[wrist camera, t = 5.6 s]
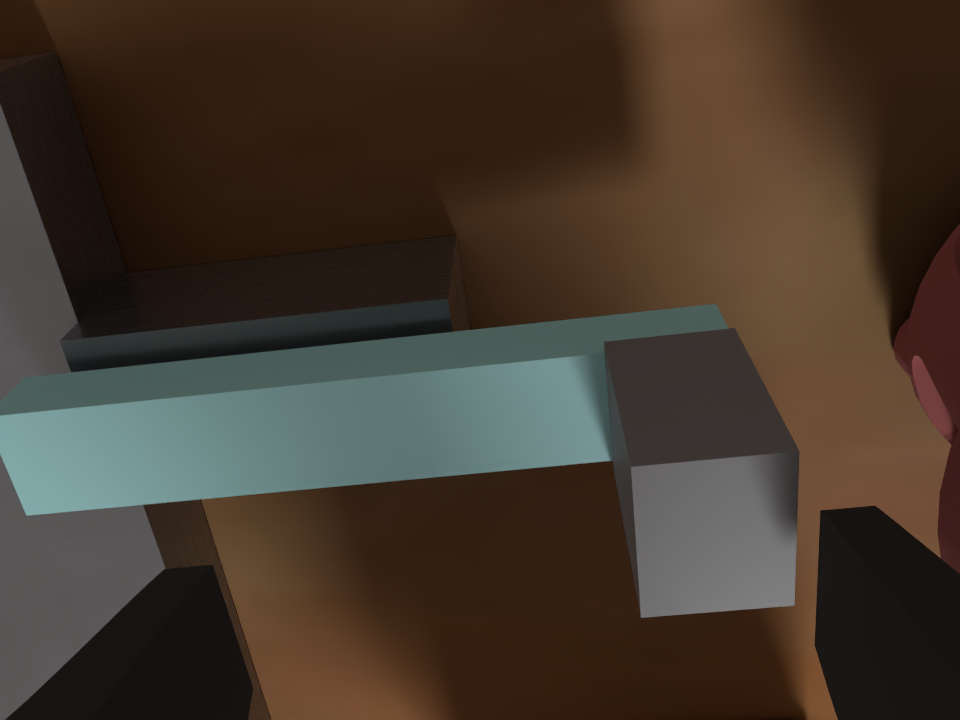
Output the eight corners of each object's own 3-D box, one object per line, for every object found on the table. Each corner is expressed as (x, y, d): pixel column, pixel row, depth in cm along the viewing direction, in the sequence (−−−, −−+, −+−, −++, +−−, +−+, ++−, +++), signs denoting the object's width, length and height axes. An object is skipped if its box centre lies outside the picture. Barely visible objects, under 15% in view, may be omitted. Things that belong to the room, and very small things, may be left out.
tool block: (422, 1, 17) (404, 24, 14) (554, 896, 28) (559, 1012, 25) (-610, 141, 19) (-820, 188, 16) (-89, 932, 30) (-154, 1045, 27)
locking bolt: (716, 292, 15) (799, 451, 11) (718, 416, 16) (794, 605, 12) (20, 367, 16) (-158, 540, 12) (64, 479, 17) (-83, 675, 13)
